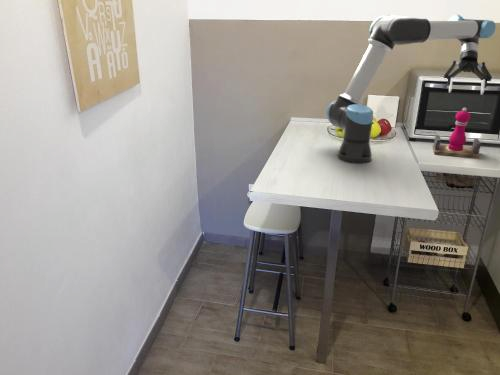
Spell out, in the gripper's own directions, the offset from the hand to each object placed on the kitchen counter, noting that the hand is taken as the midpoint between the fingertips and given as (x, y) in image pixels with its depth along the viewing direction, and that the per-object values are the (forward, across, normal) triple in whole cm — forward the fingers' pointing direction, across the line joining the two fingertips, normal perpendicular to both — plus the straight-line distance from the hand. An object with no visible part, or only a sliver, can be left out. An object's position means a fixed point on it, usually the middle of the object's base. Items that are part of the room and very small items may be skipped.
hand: (466, 92), depth 187 cm
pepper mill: (+23, 0, -14) cm, 27 cm away
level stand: (+24, 0, -15) cm, 28 cm away
